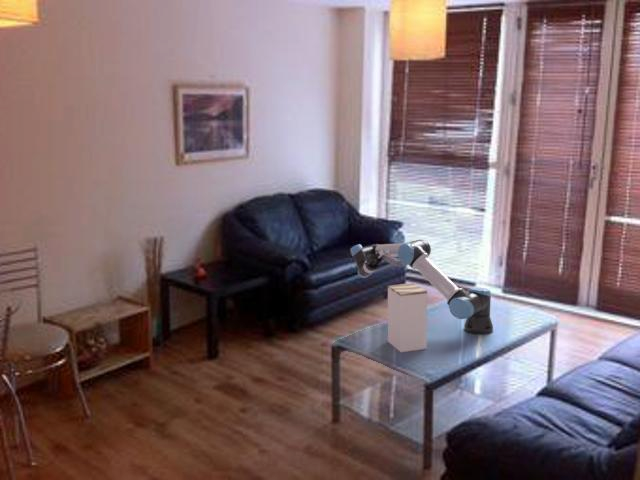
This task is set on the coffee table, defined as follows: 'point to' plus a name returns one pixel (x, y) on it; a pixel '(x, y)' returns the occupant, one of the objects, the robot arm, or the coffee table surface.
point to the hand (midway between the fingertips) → (385, 251)
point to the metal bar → (391, 259)
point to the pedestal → (407, 317)
